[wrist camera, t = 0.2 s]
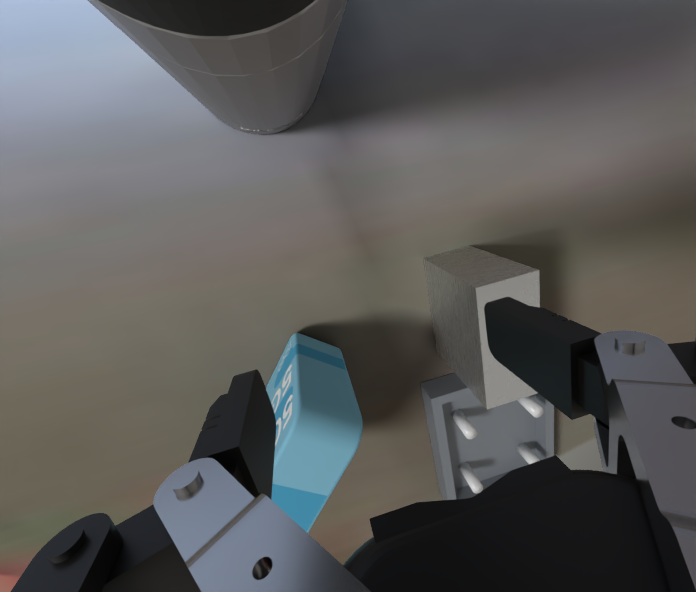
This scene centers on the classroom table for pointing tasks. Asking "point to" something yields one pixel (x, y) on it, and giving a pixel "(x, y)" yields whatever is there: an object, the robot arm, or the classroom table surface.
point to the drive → (476, 316)
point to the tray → (482, 436)
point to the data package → (311, 426)
